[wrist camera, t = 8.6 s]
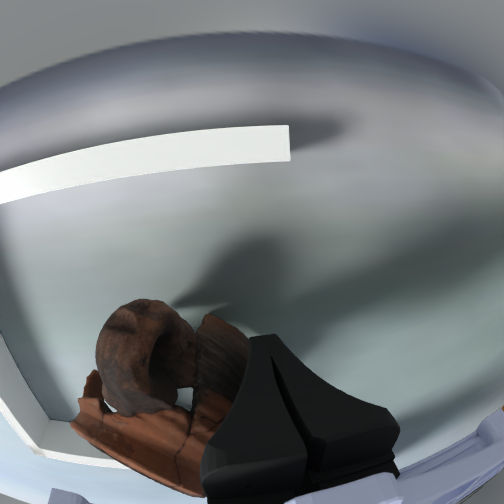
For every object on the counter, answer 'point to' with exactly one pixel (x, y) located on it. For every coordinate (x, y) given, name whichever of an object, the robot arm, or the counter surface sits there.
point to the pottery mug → (160, 391)
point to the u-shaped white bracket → (100, 169)
